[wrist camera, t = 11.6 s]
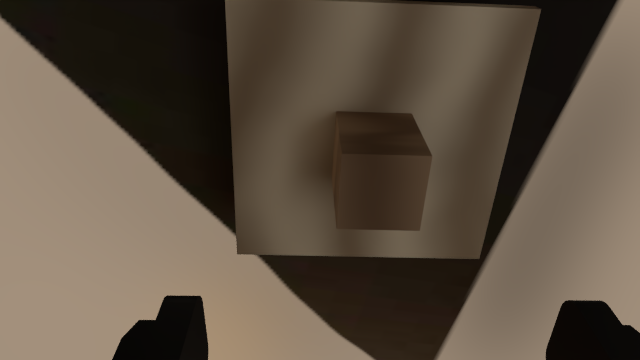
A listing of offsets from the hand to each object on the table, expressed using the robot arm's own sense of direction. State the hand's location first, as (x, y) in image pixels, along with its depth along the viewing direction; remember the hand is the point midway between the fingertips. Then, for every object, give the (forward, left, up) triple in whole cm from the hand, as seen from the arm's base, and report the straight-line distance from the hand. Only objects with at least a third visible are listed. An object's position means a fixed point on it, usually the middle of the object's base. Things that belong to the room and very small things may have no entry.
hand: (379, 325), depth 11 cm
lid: (-2, +3, -17) cm, 18 cm away
